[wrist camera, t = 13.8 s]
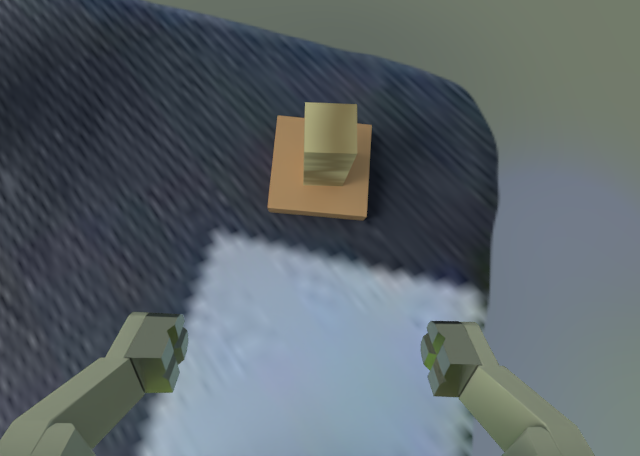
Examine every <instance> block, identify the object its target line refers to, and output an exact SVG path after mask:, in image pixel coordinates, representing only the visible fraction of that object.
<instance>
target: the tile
mask: <svg viewBox="0 0 640 456" xmlns="http://www.w3.org/2000/svg"><path fill="white" fill-rule="evenodd" d="M304 125H305V118H298V117H289V116H279V115H278V117H277V126H276V135H275V144H274V153H273V162H272V171H271V181H270V190H269V199H268V210H269V212H274V213H285V214H297V215H308V216H319V217H330V218H341V219H352V220H364V219H365V218H366V217H367V202H368V184H369V167H370V149H371V131H372V125H367V124H357V155H356V158H355V160H354V162H353V164H352V166H351V169H350V171H349V173H348V175H347V177H346V180H345V182H344V184H343V186H309V185H303V169H304Z"/></svg>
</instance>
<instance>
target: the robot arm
mask: <svg viewBox="0 0 640 456" xmlns="http://www.w3.org/2000/svg"><path fill="white" fill-rule="evenodd" d="M184 322H185V320H184V316H183V314H167V313H148V312H132V313H131V314H130V315H129V316H128V318H127V320H126V321H125V323H124V325H123V327H122V328H121V330H120V332H119V334H118V336H117V337H116V339H115V341H114V343H113V345H112V346H111V348H110V350H109V352H108V353H107V355H106V357H105V358H99V359H98V360H96V361H95V362H94V363H92V364H91V365H89V366H88V367H87V368H85V369H84V370H83V371H81V372H80V373H78V374H77V375H76V376H74V377H73V378H72V379H70V380H69V381H68V382H66V383H65V384H63V385H62V386H61V387H59V388H58V389H57V390H55V391H54V392H52V393H51V394H50V395H48V396H47V397H46V398H44V399H43V400H42V401H40V402H39V403H37V404H36V405H35V406H33V407H32V408H31V409H29V410H28V411H26V412H25V413H24V414H22V415H21V416H20V417H18V418H17V419H16V420H14V421H13V422H12V424H11V425H10V427H9V428H8V430H7V431H6V432H5V434H4V435H3V437H2V438H1V440H0V456H96V455H95V453H94V452H93V451H92V449H93V448H94V447H95V446H96V445H97V444H98V443H99V442H100V441H101V439H102V438H103V437H104V436H105V435H106V434H107V433H108V432H109V431H110V430H111V429H112V428H113V427H114V426H115V425H116V424H117V423H118V422H119V421H120V420H121V419H122V418H123V417H124V415H125V414H126V413H127V412H128V411H129V410H130V409H131V408H132V407H133V406H134V405H135V404H136V403H137V402H138V401H139V400H140V399H141V398H142V397H143V396H144V393H170V392H173V391H174V388H175V385H176V382H177V379H178V376H179V373H180V371H179V368H178V364H179V363H181V362H182V361H183V360H184V358H185V355H186V352H187V347H188V332H187V330H186V329H185V328H184V327H183V325H184ZM427 331H428V333H427V334H426V335H424V336H423V338H422V341H421V356H422V360H423V364H424V365H425V366H426V367H427V368H428V369H429V370H430V372H429V374H428V380H429V383H430V386H431V389H432V393H433V396H442V397H459V400H460V401H461V402H462V403H463V404H464V405H465V407H466V408H467V409H468V410H469V411H470V412H471V414H472V415H473V416H474V417H475V418H476V419H477V421H478V422H479V423H480V424H481V425H482V426H483V428H484V429H485V430H486V431H487V432H488V433H489V435H490V436H491V437H492V438H493V439H494V440H495V442H496V443H497V444H498V445H499V446H500V447H501V449H502V450H503V451H504V452H505V453H504V454H503V455H502V456H595V455H594V454H593V452H592V450H591V449H590V447H589V445H588V444H587V442H586V441H585V439H584V437H583V436H582V434H581V432H580V431H579V429H578V428H577V426H576V425H575V424H573V423H572V422H571V421H570V420H569V419H567V418H566V417H565V416H564V415H562V414H561V413H560V412H559V411H557V410H556V409H555V408H554V407H553V406H552V405H550V404H549V403H548V402H546V401H545V400H544V399H543V398H542V397H541V396H539V395H538V394H537V393H536V392H535V391H533V390H532V389H531V388H530V387H529V386H527V385H526V384H525V383H524V382H522V381H521V380H520V379H519V378H518V377H516V376H515V375H514V374H513V373H512V372H510V371H509V370H508V369H506V367H504V366H499V364H498V362H497V360H496V358H495V356H494V354H493V352H492V351H491V349H490V347H489V345H488V343H487V341H486V339H485V337H484V335H483V333H482V331H481V329H480V327H479V325H478V324H477V323H476V322H459V321H431V322H429V324H428V326H427Z"/></svg>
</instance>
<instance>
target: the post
mask: <svg viewBox="0 0 640 456" xmlns="http://www.w3.org/2000/svg"><path fill="white" fill-rule="evenodd" d="M356 155H357V104H333V103H308V102H305V125H304V169H303V185H309V186H343V184H344V182H345V180H346V177H347V175H348V173H349V171H350V169H351V166H352V164H353V162H354V160H355V158H356Z"/></svg>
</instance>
